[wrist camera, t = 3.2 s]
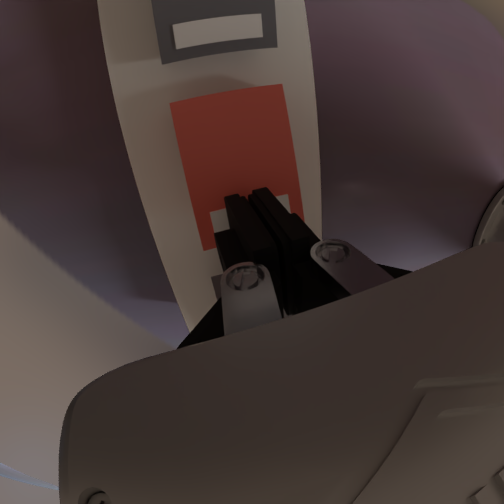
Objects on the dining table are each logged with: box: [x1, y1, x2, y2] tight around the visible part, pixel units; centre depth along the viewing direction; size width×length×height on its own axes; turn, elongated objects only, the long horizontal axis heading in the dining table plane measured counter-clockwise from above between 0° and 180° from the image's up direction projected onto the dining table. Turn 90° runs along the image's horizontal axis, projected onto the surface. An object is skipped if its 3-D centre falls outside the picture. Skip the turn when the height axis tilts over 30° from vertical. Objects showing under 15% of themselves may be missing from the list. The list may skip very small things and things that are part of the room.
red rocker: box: [169, 84, 305, 251], centre depth 12 cm, size 4×6×2 cm
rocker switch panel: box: [97, 0, 322, 332], centre depth 15 cm, size 9×22×4 cm, turn 8°
